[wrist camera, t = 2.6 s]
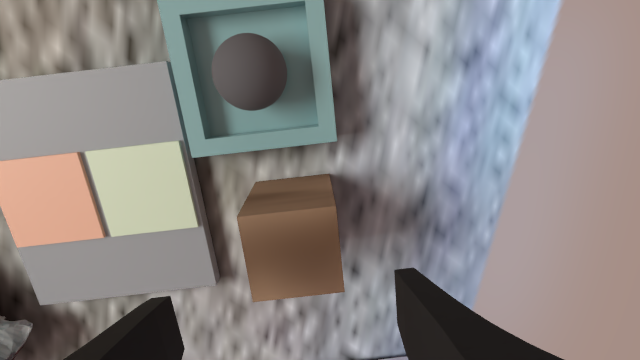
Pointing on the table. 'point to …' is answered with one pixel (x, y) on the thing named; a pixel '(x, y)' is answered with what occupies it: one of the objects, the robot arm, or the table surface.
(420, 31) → the table surface
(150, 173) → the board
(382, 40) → the table surface
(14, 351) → the packaged food
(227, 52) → the ball
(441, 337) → the robot arm
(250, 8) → the dish
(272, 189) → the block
